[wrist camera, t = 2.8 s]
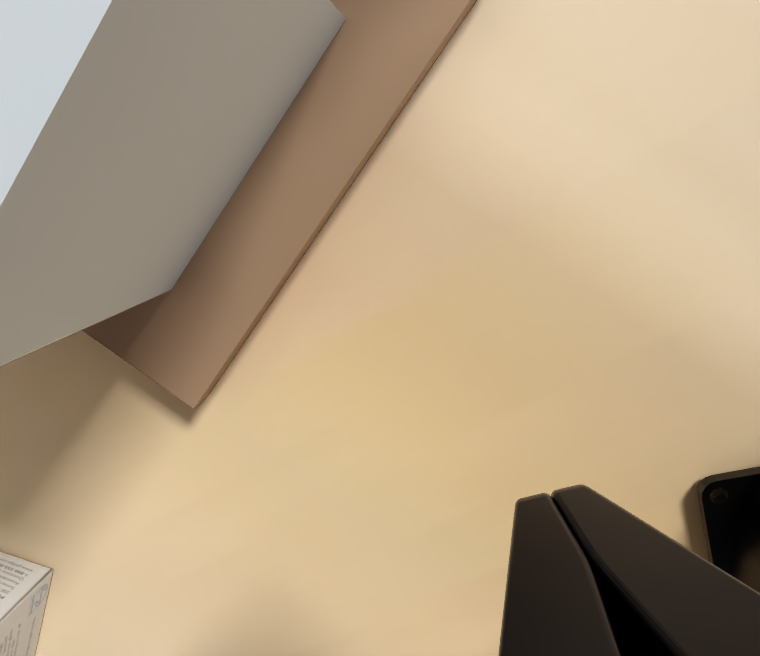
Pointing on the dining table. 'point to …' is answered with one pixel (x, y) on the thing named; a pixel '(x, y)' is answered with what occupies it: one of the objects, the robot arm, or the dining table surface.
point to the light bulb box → (21, 604)
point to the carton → (130, 143)
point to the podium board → (285, 195)
